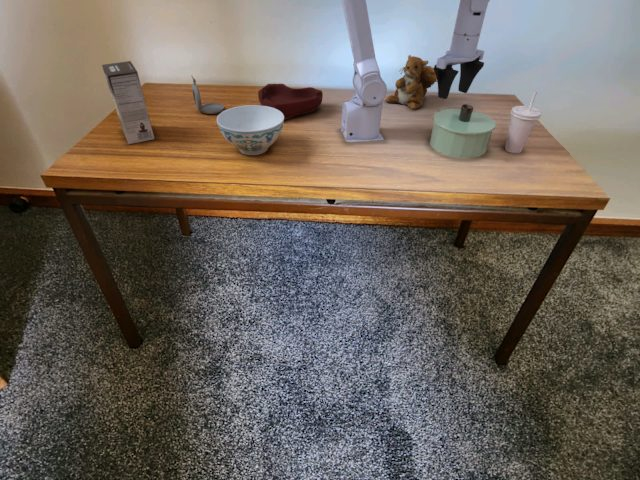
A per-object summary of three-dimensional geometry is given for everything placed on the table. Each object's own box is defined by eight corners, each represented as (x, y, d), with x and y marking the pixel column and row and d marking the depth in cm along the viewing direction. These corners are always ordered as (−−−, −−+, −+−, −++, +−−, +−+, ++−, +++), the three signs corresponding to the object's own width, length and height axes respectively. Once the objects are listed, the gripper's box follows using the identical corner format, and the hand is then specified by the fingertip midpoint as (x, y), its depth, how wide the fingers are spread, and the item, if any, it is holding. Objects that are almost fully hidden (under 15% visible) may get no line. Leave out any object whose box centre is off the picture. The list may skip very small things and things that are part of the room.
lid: (482, 142, 85) (488, 123, 83) (422, 126, 92) (426, 108, 89) (502, 122, 94) (507, 104, 92) (446, 108, 100) (449, 91, 98)
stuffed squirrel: (383, 102, 119) (388, 55, 111) (411, 92, 127) (419, 47, 118) (410, 112, 114) (418, 63, 105) (438, 100, 121) (447, 54, 113)
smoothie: (514, 158, 93) (535, 98, 84) (493, 147, 97) (511, 88, 88) (532, 152, 95) (555, 93, 86) (511, 142, 99) (531, 84, 91)
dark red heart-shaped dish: (245, 118, 108) (243, 99, 105) (269, 98, 120) (268, 81, 117) (307, 127, 104) (306, 108, 101) (325, 106, 116) (326, 88, 113)
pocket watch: (229, 109, 113) (224, 73, 106) (207, 119, 107) (201, 81, 101) (208, 103, 116) (202, 67, 110) (186, 112, 110) (178, 75, 104)
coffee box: (121, 130, 100) (100, 63, 90) (147, 126, 103) (130, 60, 93) (128, 145, 94) (106, 75, 84) (156, 139, 97) (138, 70, 87)
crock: (442, 161, 91) (448, 135, 87) (421, 136, 101) (426, 112, 97) (495, 158, 92) (504, 132, 88) (470, 134, 103) (476, 110, 99)
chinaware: (268, 169, 86) (266, 135, 82) (208, 156, 90) (203, 124, 85) (295, 141, 98) (294, 110, 93) (241, 131, 101) (237, 101, 96)
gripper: (471, 26, 94) (458, 84, 103) (431, 33, 87) (420, 95, 96) (498, 32, 90) (481, 92, 98) (457, 40, 83) (443, 104, 91)
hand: (452, 94), depth 97 cm, fingers open, 7 cm apart
